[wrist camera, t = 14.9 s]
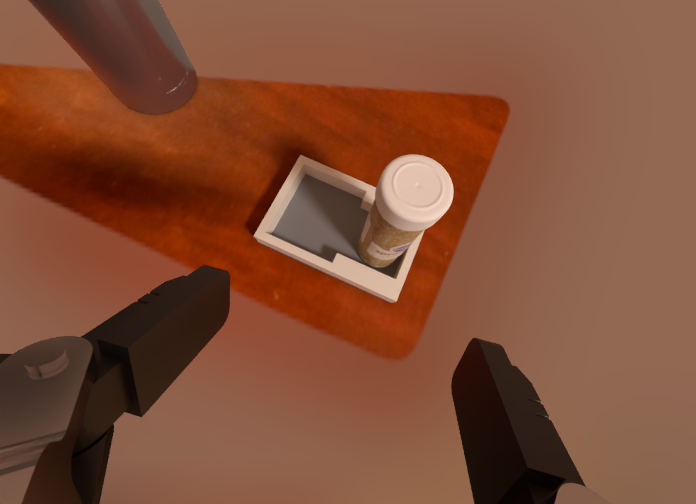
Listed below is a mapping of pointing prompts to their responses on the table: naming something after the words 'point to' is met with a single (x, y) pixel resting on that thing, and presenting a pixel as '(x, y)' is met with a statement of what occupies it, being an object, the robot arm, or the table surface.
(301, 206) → the shallow tray
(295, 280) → the table surface
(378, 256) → the sprinkles bottle
